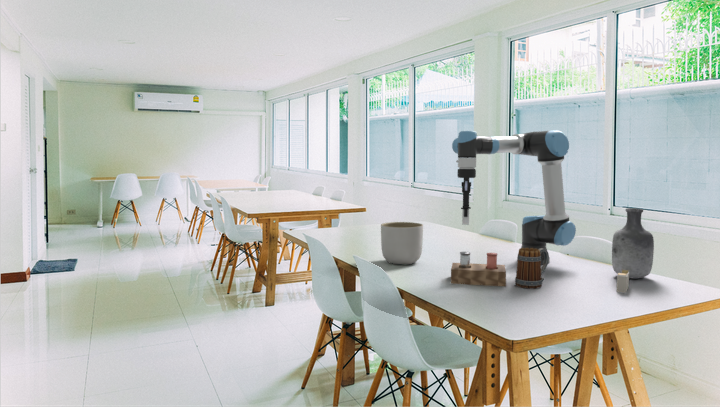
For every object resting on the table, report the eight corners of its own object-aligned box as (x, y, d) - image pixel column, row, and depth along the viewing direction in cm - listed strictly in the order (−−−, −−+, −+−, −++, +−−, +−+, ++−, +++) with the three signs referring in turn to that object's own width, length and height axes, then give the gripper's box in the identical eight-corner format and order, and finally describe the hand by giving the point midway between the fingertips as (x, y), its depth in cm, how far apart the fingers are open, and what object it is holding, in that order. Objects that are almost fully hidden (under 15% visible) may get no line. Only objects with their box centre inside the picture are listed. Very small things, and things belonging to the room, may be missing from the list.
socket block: (504, 278, 228) (504, 264, 227) (505, 286, 214) (506, 271, 214) (452, 276, 233) (452, 262, 232) (450, 283, 219) (451, 269, 218)
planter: (374, 265, 256) (374, 226, 254) (388, 257, 275) (388, 221, 273) (416, 268, 248) (416, 228, 246) (427, 260, 267) (427, 223, 266)
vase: (618, 271, 241) (621, 206, 238) (657, 277, 229) (660, 208, 227) (605, 277, 230) (607, 208, 227) (644, 283, 218) (648, 211, 215)
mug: (528, 290, 208) (529, 252, 207) (509, 284, 218) (510, 248, 216) (556, 285, 216) (557, 249, 214) (537, 280, 225) (538, 245, 223)
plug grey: (470, 272, 226) (470, 251, 225) (470, 274, 222) (470, 253, 221) (459, 272, 227) (460, 251, 226) (459, 274, 223) (459, 253, 222)
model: (616, 293, 206) (617, 273, 205) (619, 287, 215) (620, 268, 214) (625, 294, 204) (626, 274, 203) (628, 288, 213) (629, 269, 212)
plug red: (496, 273, 224) (497, 252, 223) (497, 276, 219) (497, 254, 218) (486, 273, 224) (486, 252, 224) (486, 275, 220) (486, 254, 219)
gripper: (458, 167, 227) (457, 222, 229) (456, 168, 215) (455, 226, 217) (476, 168, 226) (474, 222, 228) (475, 168, 213) (474, 226, 215)
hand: (465, 224), depth 222 cm, fingers closed
